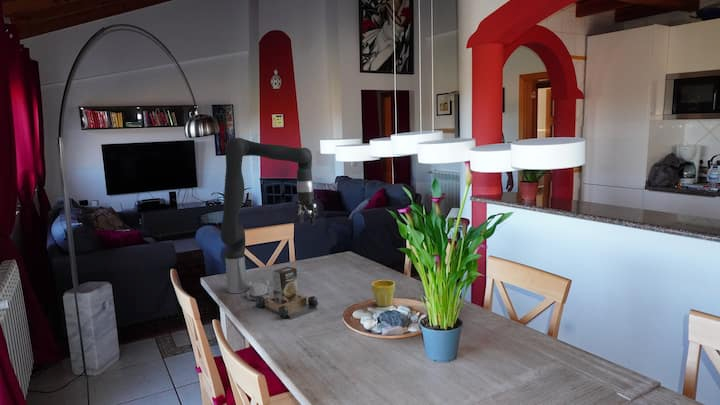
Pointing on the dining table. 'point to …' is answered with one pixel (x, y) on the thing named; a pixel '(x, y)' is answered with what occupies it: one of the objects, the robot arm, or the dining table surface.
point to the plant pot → (383, 292)
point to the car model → (258, 290)
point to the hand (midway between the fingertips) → (307, 224)
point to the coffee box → (285, 285)
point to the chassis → (289, 306)
